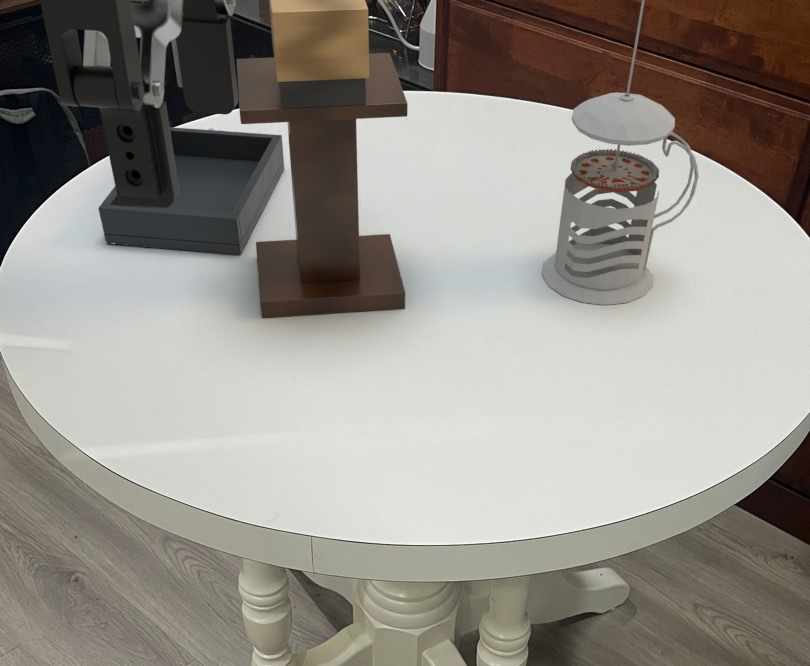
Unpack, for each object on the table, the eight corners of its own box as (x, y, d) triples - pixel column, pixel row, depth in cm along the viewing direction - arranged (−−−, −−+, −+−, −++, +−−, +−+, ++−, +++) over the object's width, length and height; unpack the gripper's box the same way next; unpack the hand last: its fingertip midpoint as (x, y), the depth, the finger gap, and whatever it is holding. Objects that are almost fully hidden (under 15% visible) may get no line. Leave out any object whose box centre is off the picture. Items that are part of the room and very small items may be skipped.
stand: (261, 318, 82) (239, 110, 70) (257, 256, 89) (236, 58, 77) (405, 308, 83) (407, 102, 71) (389, 248, 90) (389, 52, 78)
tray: (240, 255, 89) (236, 218, 87) (105, 244, 90) (97, 208, 88) (284, 168, 102) (282, 134, 99) (165, 160, 103) (159, 126, 100)
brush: (279, 111, 70) (269, -14, 64) (268, 20, 83) (259, -91, 78) (369, 107, 71) (367, -17, 65) (344, 17, 84) (340, -93, 78)
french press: (536, 246, 91) (572, -64, 73) (662, 247, 91) (729, -62, 73) (547, 304, 84) (589, -23, 66) (683, 305, 84) (763, -20, 66)
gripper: (71, -406, 34) (150, 80, 46) (-149, -383, 24) (23, 231, 36) (284, -401, 33) (310, 92, 45) (147, -374, 24) (226, 248, 35)
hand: (183, 153), depth 40 cm, fingers open, 8 cm apart
